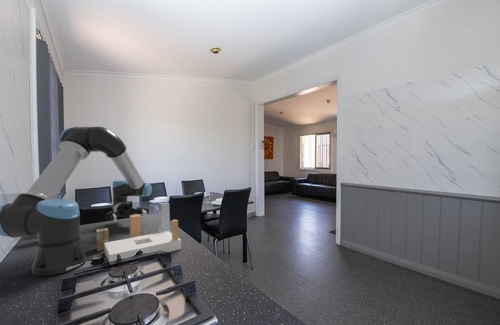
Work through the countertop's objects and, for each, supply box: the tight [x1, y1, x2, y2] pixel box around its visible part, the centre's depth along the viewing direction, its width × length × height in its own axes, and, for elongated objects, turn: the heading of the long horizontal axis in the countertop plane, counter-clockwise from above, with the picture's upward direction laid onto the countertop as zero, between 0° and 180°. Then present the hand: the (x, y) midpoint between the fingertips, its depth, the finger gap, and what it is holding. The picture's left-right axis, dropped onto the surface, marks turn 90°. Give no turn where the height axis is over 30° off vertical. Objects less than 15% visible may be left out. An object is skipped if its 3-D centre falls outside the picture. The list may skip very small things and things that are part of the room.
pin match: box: [129, 214, 142, 238], centre depth 112 cm, size 4×4×12 cm
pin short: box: [95, 227, 110, 252], centre depth 104 cm, size 4×4×8 cm
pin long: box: [158, 202, 171, 233], centre depth 120 cm, size 4×4×16 cm
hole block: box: [103, 219, 182, 261], centre depth 101 cm, size 26×16×12 cm, turn 127°
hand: (131, 216), depth 120 cm, fingers open, 13 cm apart
